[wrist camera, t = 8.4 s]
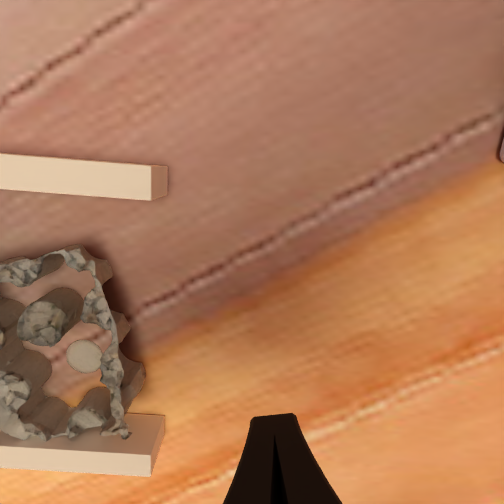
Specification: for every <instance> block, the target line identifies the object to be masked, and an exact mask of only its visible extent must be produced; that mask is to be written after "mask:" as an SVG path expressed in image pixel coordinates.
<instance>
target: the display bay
mask: <svg viewBox="0 0 504 504" xmlns="http://www.w3.org/2000/svg"><path fill="white" fill-rule="evenodd" d="M0 189H8V190H21V191H34V192H47V193H59V194H72V195H85V196H98V197H111V198H124V199H137V200H149V201H151V200H154V199H157V198H160V197H163V196H166V195H167V194H168V166H160V165H147V164H135V163H122V162H110V161H97V160H85V159H72V158H60V157H47V156H35V155H22V154H10V153H0ZM124 420H125V423H126V424H128V426H129V428H128V432H131V433H132V434H131V435H130V437H129V438H127V439H126V440H124V439H122V438H121V436H122V435H121V434H120V433H119V434H117V435H112V436H101V435H100V432H101V430H102V429H101V426H97V427H92V428H86V429H84V430H83V431H82V432H81V433H79V434H78V435H76V436H75V437H72V438H68V436H67V435H63V436H58V437H54V438H51V439H50V440H48V441H46V442H45V441H44V440H42V439H40V438H39V437H37V436H31V437H29V438H27V439H25V440H21V439H18V438H16V437H13V436H10V435H8V434H6V433H4V432H3V431H1V430H0V468H11V469H28V470H45V471H61V472H78V473H95V474H112V475H129V476H145V477H151V474H152V471H153V468H154V465H155V462H156V459H157V456H158V452H159V449H160V446H161V443H162V440H163V437H164V416H163V415H148V414H132V413H126V414H125V416H124Z"/></svg>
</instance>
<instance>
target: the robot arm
mask: <svg viewBox="0 0 504 504" xmlns="http://www.w3.org/2000/svg"><path fill="white" fill-rule="evenodd" d="M500 158H501V160H502V161H503V162H504V139H503V143H502V147H501V151H500ZM223 504H342V502H341V501H340V499H339V498H338V496H337V495H336V493H335V491H334V490H333V488H332V487H331V485H330V484H329V482H328V480H327V479H326V477H325V475H324V474H323V472H322V470H321V468H320V467H319V465H318V463H317V461H316V460H315V458H314V456H313V454H312V452H311V450H310V448H309V446H308V444H307V442H306V440H305V438H304V436H303V434H302V431H301V429H300V426H299V424H298V421H297V417H296V415H294V414H293V413H287V414H278V415H268V416H258V417H253V418H252V420H251V422H250V428H249V432H248V436H247V440H246V443H245V447H244V450H243V453H242V456H241V459H240V462H239V465H238V467H237V470H236V473H235V476H234V478H233V481H232V484H231V486H230V488H229V491H228V493H227V495H226V498H225V500H224V502H223Z"/></svg>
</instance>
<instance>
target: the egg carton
mask: <svg viewBox="0 0 504 504" xmlns="http://www.w3.org/2000/svg"><path fill="white" fill-rule="evenodd" d="M64 260H65V261H66V264H67V266H69V267H71V268H74V269H76V270H77V271H78V272H80V271H83V270H90V271H91V274H92V276H93V278H94V279H95V286H96V287H94V288H93V289H92V290H91V292H89V293H88V294H87V296H86V297H85V299H84V301H83V299H82V298H81V296H80V295H79V294H78V293H77V292H75V291H74V290H72V289H69V288H58V289H55V290H53V291H51V292H50V293H48V294H46V295H45V296H43V297H41V298H40V299H38V300H37V301H35V302H33V303H31V304H30V305H29V306H28V307H27V308H26V307H25V306H24V305H23V304H21V303H20V302H18V301H15V300H12V299H4V298H3V297H2V296H1V293H0V430H1V431H3V432H4V433H6V434H8V435H10V436H13V437H16V438H18V439H21V440H25V439H27V438H29V437H31V436H37V437H39V438H40V439H42V440H44V441H45V442H46V441H48V440H50V439H51V438H54V437H58V436H63V435H67V436H68V438H72V437H75V436H76V435H78V434H79V433H81V432H82V431H83V430H84V429H86V428H92V427H97V426H101V429H102V430H101V432H100V435H101V436H112V435H117V434H119V433H120V434H121V435H122V436H121V438H122V439H124V440H126V439H127V438H129V437H130V435H131V434H132V433H131V432H128V428H129V426H128V424H126V423H125V420H124V416H125V414H126V412H127V411H128V409H129V407H130V405H131V403H132V401H133V399H134V398H135V397H136V396H137V394H138V393H139V392H140V390H141V388H142V386H143V382H144V379H145V376H146V373H145V369H144V367H143V364H142V363H140V362H134V361H131V360H129V359H127V358H126V357H125V356H124V355H123V354H122V353H121V351H120V349H119V343H121V342H122V341H123V339H124V337H125V336H126V334H127V333H128V332H129V331H130V329H131V327H130V325H129V323H128V321H127V320H126V318H125V316H124V314H123V313H118V312H115V311H112V310H110V309H109V306H108V304H107V301H106V299H105V296H104V293H103V290H102V286H103V284H104V283H105V282H106V281H107V280H109V279H110V278H112V277H113V274H112V270H111V267H110V265H109V263H108V261H107V260H104V259H98V258H95V257H93V256H91V255H90V254H89V253H88V252H87V251H86V250H85V249H84V247H83V246H82V245H81V244H76V245H72V246H67V247H65V248H63V249H60V250H59V251H54V252H51V253H48V254H45V255H43V256H41V257H39V258H37V259H34V260H29V259H26V257H24V256H20V257H15V258H10V259H8V260H5V261H3V262H0V283H6V282H11V283H12V284H14V285H15V286H17V287H25V286H30V285H31V284H32V283H33V282H34V281H36V280H38V279H39V278H41V277H43V276H45V275H47V274H49V273H51V272H53V271H55V270H56V269H58V268H59V267H60V266H61V265H62V264H63V262H64ZM80 320H82V321H83V322H84V323H94V324H97V325H98V326H100V327H101V328H102V329H105V330H111V332H112V342H111V344H110V346H109V347H108V348H107V350H106V351H105V352H104V353H102V351H101V349H100V348H99V346H97V345H96V344H95V343H93V342H91V341H88V340H78V341H75V342H73V343H72V344H71V345H70V346H69V347H68V349H67V362H68V364H69V365H70V366H71V367H72V368H73V369H74V370H76V371H79V372H81V373H91V372H95V371H96V370H97V369H99V368H100V369H101V371H102V377H101V379H100V381H101V382H102V383H103V384H105V385H106V386H107V388H106V387H97V388H94V389H92V390H90V391H89V392H88V393H87V394H86V395H85V397H84V398H83V399H82V401H81V402H80V403H79V405H78V406H77V407H75V408H71V407H69V406H68V405H67V404H66V403H65V402H64V401H63V400H61V399H59V398H56V397H46V396H45V395H44V393H43V391H42V388H41V386H42V385H43V384H44V383H45V382H46V381H47V379H48V378H49V377H50V376H51V372H52V366H51V363H50V362H49V360H48V359H47V358H46V357H45V356H44V355H43V354H41V353H39V352H37V351H31V350H25V348H24V347H23V344H22V342H21V340H24V341H29V342H30V343H32V344H35V345H40V346H50V347H52V346H54V345H55V344H56V343H58V342H59V341H60V340H61V338H62V337H63V336H64V335H65V334H66V333H67V332H68V331H69V330H70V329H71V328H72V327H73V326H74V325H75V324H76V323H77V322H79V321H80ZM20 339H21V340H20Z"/></svg>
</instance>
